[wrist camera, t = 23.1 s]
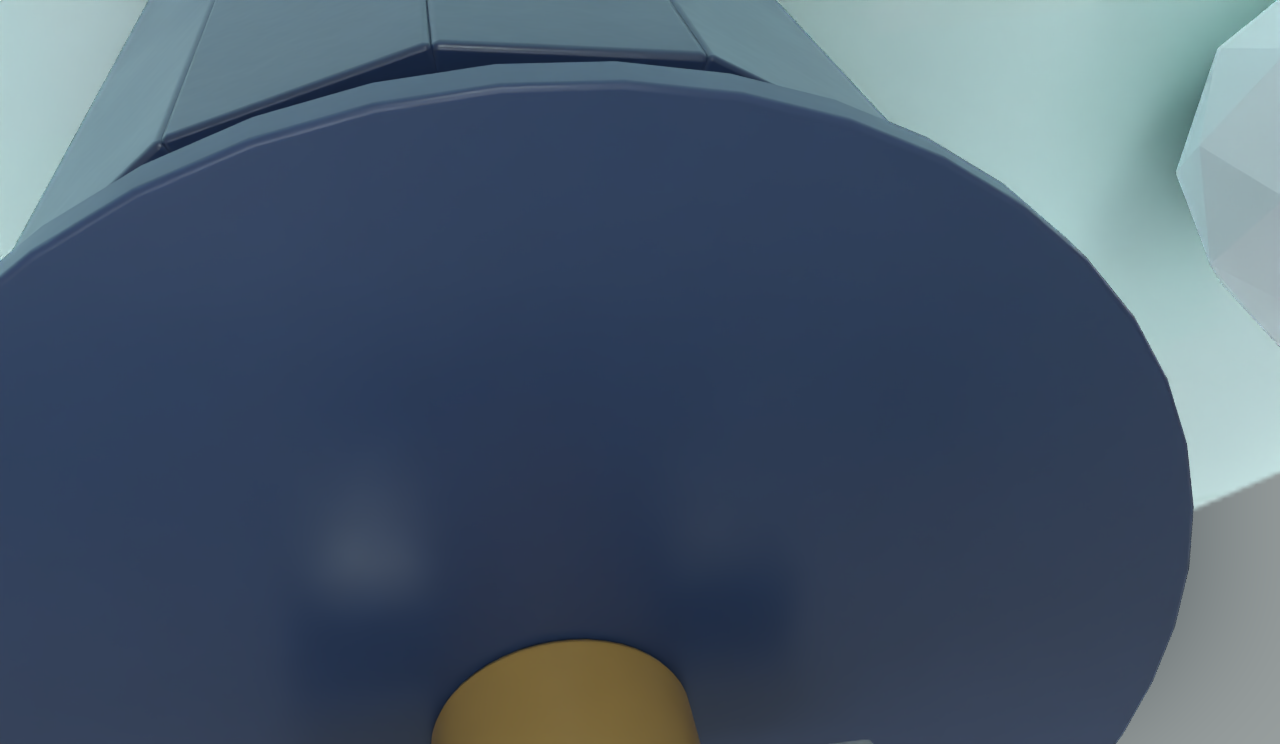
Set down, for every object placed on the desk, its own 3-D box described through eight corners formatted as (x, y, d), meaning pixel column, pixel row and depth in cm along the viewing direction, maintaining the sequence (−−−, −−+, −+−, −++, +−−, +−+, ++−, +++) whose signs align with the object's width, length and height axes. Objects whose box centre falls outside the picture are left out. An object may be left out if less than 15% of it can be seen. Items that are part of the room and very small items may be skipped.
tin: (705, -282, 19) (986, -158, 10) (847, 338, 26) (1080, 721, 17) (-35, -14, 19) (-385, 333, 10) (310, 527, 26) (276, 998, 17)
